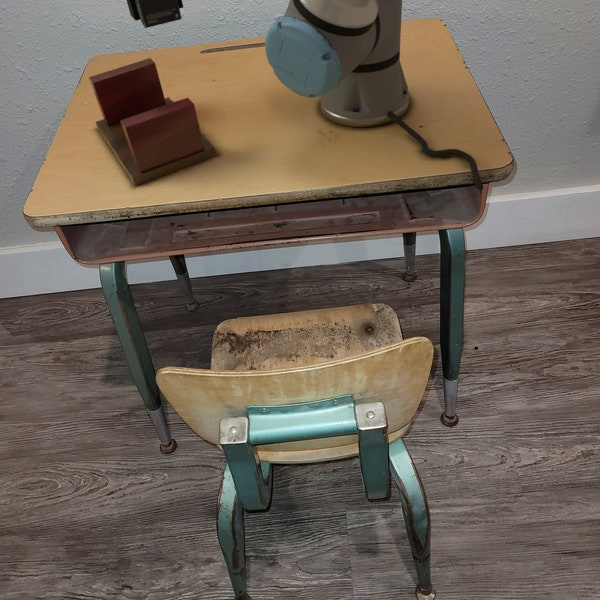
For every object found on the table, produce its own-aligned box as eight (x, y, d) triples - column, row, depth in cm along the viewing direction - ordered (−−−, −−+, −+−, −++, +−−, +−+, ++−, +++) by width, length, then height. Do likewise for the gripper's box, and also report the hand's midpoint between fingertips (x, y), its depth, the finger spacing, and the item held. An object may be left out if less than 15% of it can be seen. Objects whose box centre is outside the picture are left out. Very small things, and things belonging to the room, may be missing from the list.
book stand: (216, 155, 97) (204, 101, 90) (135, 186, 93) (116, 132, 86) (170, 104, 110) (157, 54, 104) (98, 129, 107) (79, 78, 100)
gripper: (172, -181, 86) (204, -11, 102) (35, -155, 80) (92, 20, 97) (190, -175, 81) (221, 2, 97) (45, -147, 76) (104, 35, 92)
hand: (157, 11), depth 97 cm, fingers closed on small box, 7 cm apart
